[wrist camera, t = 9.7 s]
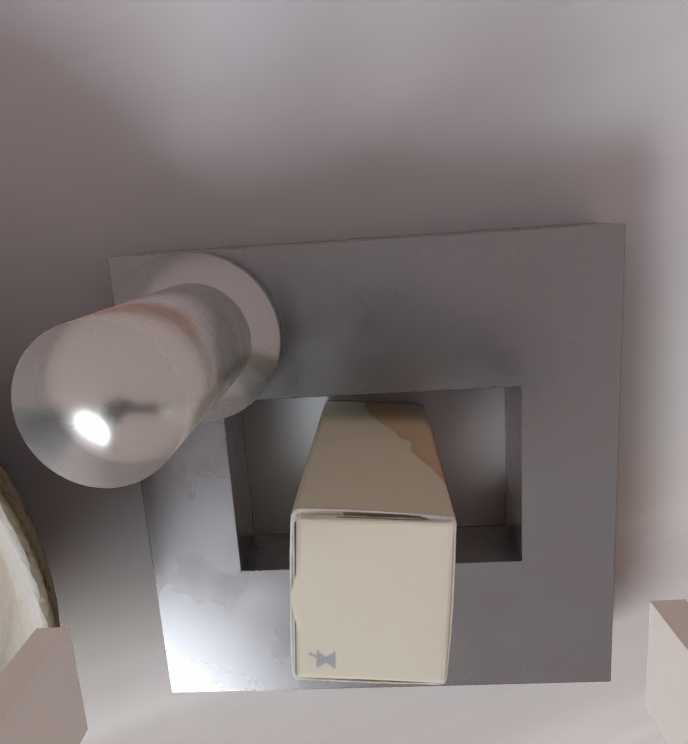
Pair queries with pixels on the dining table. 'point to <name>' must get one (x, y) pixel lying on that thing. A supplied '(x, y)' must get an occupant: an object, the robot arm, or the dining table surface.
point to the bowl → (21, 576)
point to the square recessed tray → (410, 374)
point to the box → (372, 550)
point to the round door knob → (146, 370)
